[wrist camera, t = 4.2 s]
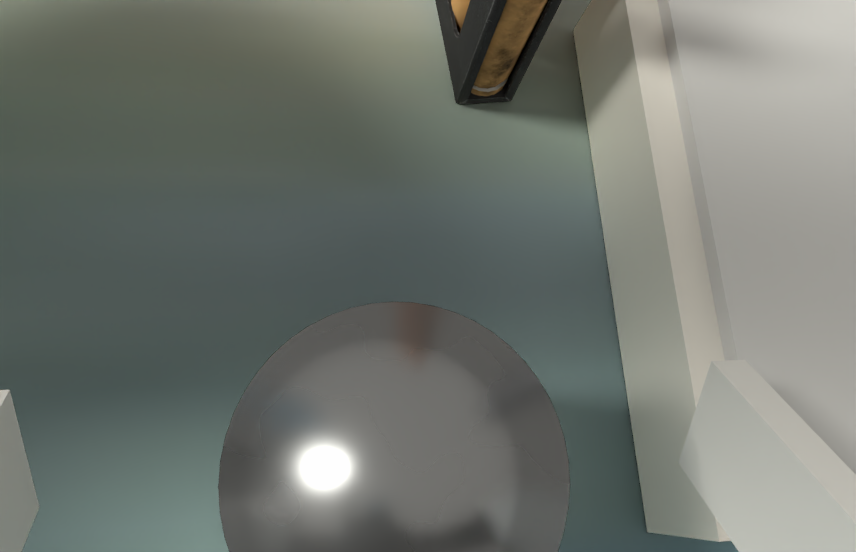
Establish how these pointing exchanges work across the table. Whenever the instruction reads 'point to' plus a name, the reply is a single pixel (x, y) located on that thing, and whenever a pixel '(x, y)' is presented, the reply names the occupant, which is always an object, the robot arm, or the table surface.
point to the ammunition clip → (491, 44)
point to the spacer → (394, 442)
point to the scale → (725, 214)
